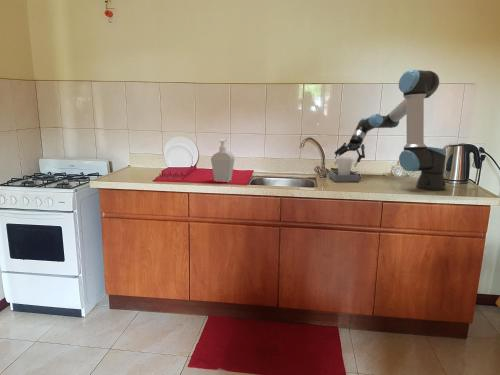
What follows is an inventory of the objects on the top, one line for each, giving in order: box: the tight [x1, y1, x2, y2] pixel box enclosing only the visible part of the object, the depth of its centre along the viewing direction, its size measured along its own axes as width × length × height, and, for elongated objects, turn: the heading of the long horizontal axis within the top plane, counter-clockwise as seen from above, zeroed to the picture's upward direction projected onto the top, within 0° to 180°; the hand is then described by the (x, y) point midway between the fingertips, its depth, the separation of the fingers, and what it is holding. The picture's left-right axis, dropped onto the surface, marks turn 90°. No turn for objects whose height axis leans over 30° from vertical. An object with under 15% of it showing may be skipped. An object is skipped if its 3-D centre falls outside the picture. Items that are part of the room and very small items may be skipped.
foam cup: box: [336, 156, 354, 175], centre depth 236 cm, size 10×9×13 cm
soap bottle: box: [210, 138, 235, 183], centre depth 228 cm, size 12×10×26 cm
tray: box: [328, 170, 360, 183], centre depth 237 cm, size 15×15×4 cm
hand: (344, 164), depth 236 cm, fingers open, 13 cm apart
